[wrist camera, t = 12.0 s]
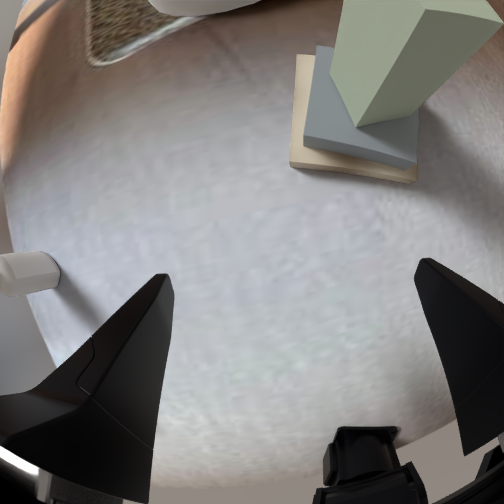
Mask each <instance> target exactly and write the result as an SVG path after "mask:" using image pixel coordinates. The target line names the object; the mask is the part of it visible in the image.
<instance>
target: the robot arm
mask: <svg viewBox="0 0 504 504" xmlns="http://www.w3.org/2000/svg"><path fill="white" fill-rule="evenodd" d="M414 282H415V285H416V288H417V291H418V294H419V298H420V301H421V304H422V308H423V311H424V314H425V317H426V320H427V322H428V325H429V327H430V330H431V333H432V336H433V338H434V341H435V344H436V347H437V350H438V353H439V356H440V359H441V362H442V365H443V368H444V371H445V375H446V378H447V382H448V385H449V389H450V392H451V396H452V400H453V404H454V408H455V413H456V417H457V422H458V426H459V431H460V437H461V442H462V448H463V453H464V456H466V455H468V454H470V453H471V452H473V451H475V450H476V449H478V448H480V447H481V446H483V445H485V444H486V443H488V442H489V441H491V440H493V439H494V438H496V437H498V440H499V443H500V444H499V445H498V446H496V447H495V448H494V449H492V450H490V451H489V452H487V453H486V454H485V455H484V458H483V461H482V463H481V466H480V468H479V471H478V473H477V476H476V478H475V480H474V481H473V482H471V483H469V484H468V485H466V486H464V487H463V488H461V489H459V490H458V491H456V492H454V493H452V494H450V495H449V496H446V497H445V498H443V499H441V500H439V501H437V502H435V503H432V504H504V304H503V303H502V302H500V301H498V300H497V299H496V298H494V297H493V296H491V295H490V294H488V293H487V292H485V291H484V290H482V289H481V288H479V287H478V286H476V285H475V284H473V283H471V282H470V281H468V280H467V279H465V278H463V277H462V276H460V275H459V274H457V273H455V272H454V271H452V270H450V269H449V268H447V267H445V266H444V265H442V264H440V263H439V262H437V261H435V260H433V259H432V258H422V259H421V260H420V261H419V264H418V267H417V270H416V272H415V275H414ZM173 308H174V291H173V287H172V284H171V280H170V277H169V275H168V274H166V273H164V274H156V275H154V276H153V277H152V278H151V279H150V280H149V281H148V282H147V283H146V284H145V285H144V286H143V287H142V288H140V289H139V290H138V291H137V292H136V293H135V294H134V295H133V296H132V297H131V298H130V299H129V300H128V301H127V302H126V303H125V304H124V305H123V306H121V307H120V308H119V309H118V310H117V311H116V312H115V313H114V314H113V315H112V316H111V317H110V318H109V319H108V320H107V321H106V322H105V323H104V324H103V325H102V326H101V327H100V328H99V329H98V330H97V331H96V332H95V333H94V334H93V335H92V337H90V338H89V339H88V340H87V341H86V342H85V343H84V344H83V345H82V346H81V347H80V348H79V349H78V350H77V351H76V352H75V353H74V354H73V355H72V356H70V357H69V358H68V359H67V360H66V361H65V362H64V363H63V364H61V365H60V366H59V367H58V368H57V369H56V370H55V371H53V372H52V373H51V374H50V375H49V376H48V377H47V378H46V379H44V380H43V381H42V382H41V383H40V384H39V385H38V386H36V387H35V388H33V389H31V390H29V391H26V392H23V393H17V394H10V395H2V396H0V504H123V499H125V500H130V501H134V502H138V503H143V504H148V502H149V490H150V479H151V468H152V459H153V448H154V440H155V433H156V425H157V418H158V411H159V404H160V398H161V391H162V385H163V379H164V373H165V368H166V362H167V357H168V351H169V346H170V340H171V332H172V320H173ZM341 431H343V432H341ZM392 431H393V432H392ZM397 432H398V430H397V427H340V428H338V429H337V432H336V434H335V437H334V440H333V442H332V443H330V444H329V445H328V448H327V450H326V453H325V455H324V458H323V484H324V485H325V486H329V487H327V488H317V489H316V494H315V495H314V498H313V503H312V504H428V499H427V494H426V490H425V487H424V484H423V482H422V480H421V478H420V476H419V474H418V473H417V471H416V469H415V467H414V465H413V463H412V461H411V462H408V463H406V465H404V466H401V465H400V462H399V459H398V457H397V454H396V450H395V447H394V445H393V440H394V438H395V436H396V434H397Z"/></svg>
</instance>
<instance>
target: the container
mask: <svg viewBox="0 0 504 504" xmlns="http://www.w3.org/2000/svg"><path fill="white" fill-rule="evenodd" d="M148 1H149V2H150V3H151V4H152V5H153V6H154V7H155V8H156V9H157V10H158V11H159V12H161V13H165V14H169V15H173V16H202V15H207V14H213V13H219V12H226V11H229V10H233V9H236V8H239V7H243V6H246V5H250V4H254V3H256V2H258V1H260V0H148Z"/></svg>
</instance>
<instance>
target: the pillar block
mask: <svg viewBox="0 0 504 504" xmlns="http://www.w3.org/2000/svg"><path fill="white" fill-rule="evenodd" d="M503 24H504V23H503V21H502V20H501V19H500V17H499V16H498V15H497V14H496V12H495V11H494V10H493V9H492V7H491V6H490V5H489V4H488V2H487V1H486V0H344V3H343V8H342V14H341V19H340V24H339V30H338V35H337V40H336V45H335V50H334V54H333V59H332V64H331V69H330V73H329V74H330V75H331V77H332V79H333V81H334V83H335V85H336V87H337V89H338V91H339V93H340V95H341V97H342V99H343V102H344V104H345V106H346V108H347V110H348V112H349V115H350V117H351V119H352V121H353V124H354V126H355V128H356V127H360V126H365V125H369V124H373V123H378V122H383V121H387V120H392V119H397V118H403V117H408V116H410V115H412V114H413V113H414V112H415V111H416V110H417V109H418V108H419V107H420V106H421V105H422V104H423V103H424V102H425V101H426V100H427V99H428V98H429V97H430V96H431V95H432V94H433V93H434V92H435V91H436V90H437V89H438V88H439V87H440V86H442V85H443V84H444V83H445V82H446V81H447V80H448V79H449V78H450V77H451V76H452V75H453V74H454V73H455V72H456V71H457V70H458V69H459V68H460V67H461V66H462V65H463V64H464V63H465V62H466V61H467V60H468V59H469V58H470V57H471V56H472V55H473V54H474V53H475V52H476V51H477V50H478V49H479V48H480V47H481V46H482V45H483V44H484V43H485V42H486V41H487V40H488V39H489V38H490V37H491V36H492V35H493V34H494V33H495V32H496V31H497V30H498V29H499V28H500V27H501V26H502V25H503Z"/></svg>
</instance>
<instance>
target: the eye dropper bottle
mask: <svg viewBox="0 0 504 504" xmlns="http://www.w3.org/2000/svg"><path fill="white" fill-rule="evenodd" d="M59 277H60V270H59V268H58V266H57V264H56V263H55V261H54V260H53V259H52V258H51V257H50V256H49V255H48V254H47V253H45V252H42V251H30V252H19V253H10V254H2V255H0V292H1V293H2V294H4V295H6V296H9V297H16V296H21V295H25V294H30V293H34V292H38V291H43V290H47V289H51V288H55V287H57V285H58V282H59Z"/></svg>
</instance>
